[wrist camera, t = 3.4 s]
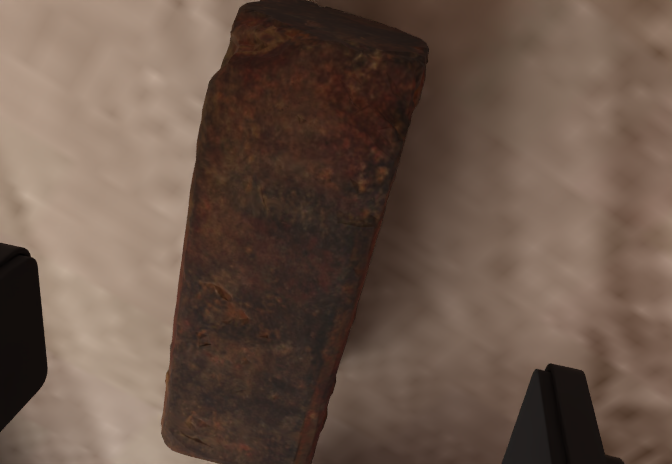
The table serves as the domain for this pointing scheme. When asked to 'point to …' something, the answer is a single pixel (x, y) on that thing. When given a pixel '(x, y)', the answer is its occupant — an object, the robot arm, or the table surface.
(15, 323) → the robot arm
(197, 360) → the brick
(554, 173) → the table surface
